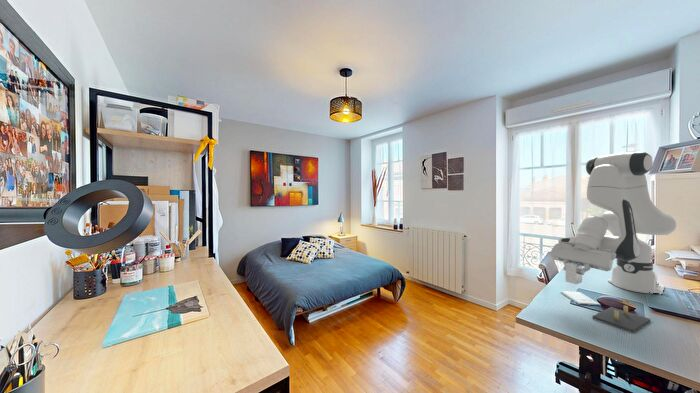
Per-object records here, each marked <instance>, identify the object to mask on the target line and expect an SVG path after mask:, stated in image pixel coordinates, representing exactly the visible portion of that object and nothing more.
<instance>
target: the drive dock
mask: <svg viewBox="0 0 700 393" xmlns="http://www.w3.org/2000/svg"><path fill="white" fill-rule="evenodd" d="M592 319H593V320H596V321H598V320H599V322H601V321H602V323H603V324H604V323H605V324H607V325H610V326H612V327H615V328H619V329H622V330H623V331H626V332H627V331H628V332H629V333H633V334H634V333H635V332H637V331H638V330H640V329H642V328H644V327H645V326H646V325H648V324H649V323H650V322H652V320H651V318H649V317H646V316H642V315H638V314H636V313H632V312H629V306H627V305H623V310H622V309H619V308H616V307H613V306H610V307H608V308H606V309H604V310H602V311H600V312H598V313H596V314H594V315H592Z"/></svg>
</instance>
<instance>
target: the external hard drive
mask: <svg viewBox="0 0 700 393" xmlns="http://www.w3.org/2000/svg"><path fill="white" fill-rule="evenodd" d="M560 294H562V295H563V296H565V297H567V299H569V300H571V301H572V300H573V301H572V302H574V301H575V302H577V303H578V304H588V305H587V306H591V305H600V306H601V303H599V302H597V301H596V300H593V298H590V297H589V296H587V295H586V294H584V293H583V292H580V291H569V290H568V291H567V290H561V291H560ZM575 302H574V303H575ZM577 303H576V304H577ZM578 304H577V305H578Z"/></svg>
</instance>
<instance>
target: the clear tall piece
mask: <svg viewBox="0 0 700 393" xmlns="http://www.w3.org/2000/svg"><path fill="white" fill-rule="evenodd" d="M582 268H583V266H582V263H577V262H573V261H571V262H568V263H566V271H565V282H566V283H570V284H574V285H578V284H581V283H583V275H581V274H579V273H578V271H579V269H582Z"/></svg>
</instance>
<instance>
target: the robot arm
mask: <svg viewBox="0 0 700 393" xmlns="http://www.w3.org/2000/svg"><path fill="white" fill-rule="evenodd" d="M652 168H653V157H652V155H651V154H649V153H647V152H645V151H634V152H619V153H613V154H606V155H605V154H604V155H597V156H595V157H591V158H589V159H588V160H587V162H586V164H585V170H586V173H587V174H588V175H589V177H588V182H587V186H586V199H587V200H588V202H589V203H591V204H592V205H593V206H596V207H598V208H601V209H603V210H606V211H605V212H603V213H602V214H601V216H596V215H590V216H586V217H585V218H584V219H583V220H582V221H581V223H580V225H579V226H578V229H577V233H576V234H575V236H569V237H562V238H559V239H558V240H557V241H558V242H557V243H555V244H554V245H553V247H552V248H551V250H550V252H549V255H550V257H551V259H552V260H553V261H558V262H563V265H564V266H563V271H565V272H566V263H568V262H571V261H573V262H577V263H582V269H579V271H578V273H579V274H581V275H582V276H584V275H585V273H586V272H588V271H590V270H591V269H595V270H600V271H604V272H610V271H611V270H612V272H611V278H609V279H607V282H608V283H610V284H613V286H616V287H617V288H620V289H623V290H627V291H630V292H636V293H643V294H653V293H661V294H662V293H663V294H664V292H663V290H664V291H665V285H663V284H662V283H659V282H658V275H657V274H656V272H655V271H654V261H652V252H653V251H652V247H651V246H650V245H649V244H648V243H647V242H645V241H644V240H641V239H640V238H639V237H638V236H637V234H640V235H642V234H643V235H648V236H668V235H671V234H672V233H673V232H674V231H675V230H676V228H677V221H676V220H675V218H674V217H673V216H671V215H670V214H668V213H666V212H664V211H662V210H661V209H659V207H657V206H656V205H655V204H654V203H653V201H652V199H651V196H650V193H649V188H648V180H647V177H646V174H647V173H648V172H650V171H651V169H652ZM607 231H608V232H609V233H611V234H612V235H610V234H607ZM614 260H616V266H613V264H614ZM649 292H651V293H649ZM661 294H660V295H661Z"/></svg>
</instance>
